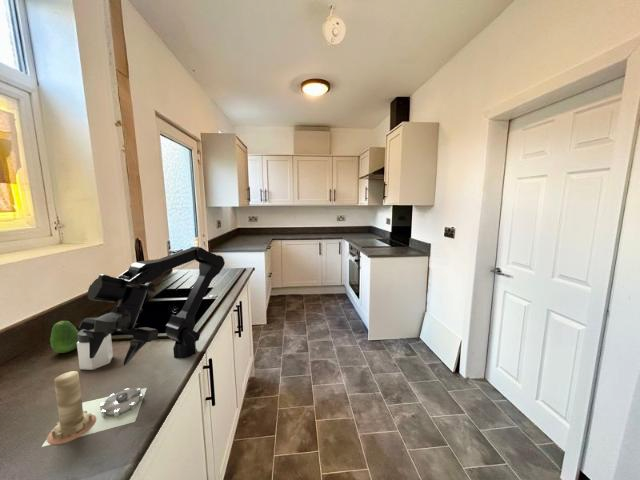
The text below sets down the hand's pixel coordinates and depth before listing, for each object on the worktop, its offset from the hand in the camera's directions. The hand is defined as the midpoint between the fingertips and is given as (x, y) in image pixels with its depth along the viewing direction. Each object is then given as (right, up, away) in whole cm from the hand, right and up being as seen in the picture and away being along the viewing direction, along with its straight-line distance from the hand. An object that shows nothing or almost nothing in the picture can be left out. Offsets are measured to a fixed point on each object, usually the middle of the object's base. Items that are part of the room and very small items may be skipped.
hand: (108, 361), depth 71 cm
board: (+3, -12, -6) cm, 13 cm away
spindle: (0, -11, -10) cm, 15 cm away
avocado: (-35, -8, +24) cm, 44 cm away
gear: (+6, -10, -3) cm, 12 cm away
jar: (-18, -9, +18) cm, 27 cm away
